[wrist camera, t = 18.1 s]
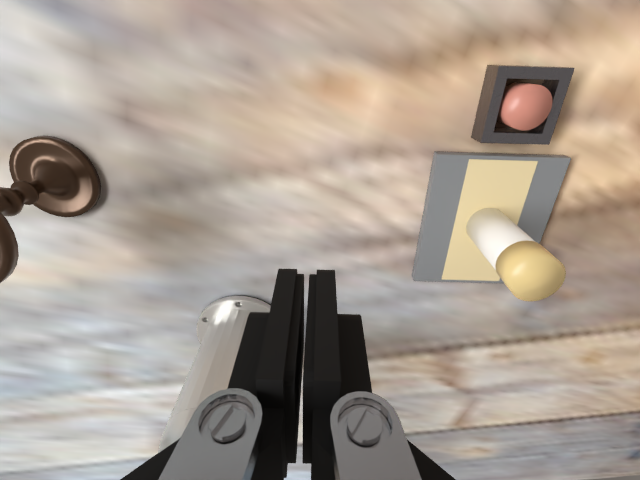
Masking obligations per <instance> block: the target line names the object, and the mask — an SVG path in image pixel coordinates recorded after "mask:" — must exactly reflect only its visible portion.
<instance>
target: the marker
mask: <svg viewBox="0 0 640 480" xmlns="http://www.w3.org/2000/svg"><path fill="white" fill-rule="evenodd" d="M466 232H467V234H468V236H469V237H470V239H471V240H472V241H473V242H474V244H475V245H476V246H477V247H478V249H479V250H480V251H481V252H482V254H483V255H484V256H485V257H486V259H487V260H488V261H489V263H490V264H491V265H492V266H493V268H494V269H495V270H496V272H497V274H498V276H499V277H500V278H501V279H502V281H503V282H504V283H505V284H506V286H507V287H508V288H509V290H510V291H511V292H512V293H513V295H514V296H515V297H517V298H518V299H520V300H524V301H537V300H541V299H544V298H546V297H548V296H550V295H552V294H553V293H555V292H556V291H557V290H558V289H559V288H560V287H561V285H562V284H563V282H564V279H565V275H566V272H565V268H564V266H563V264H562V263H561V262H560V261H559V260H557V259H556V258H555V257H554V256H553V255H552V254H551V253H549V252H548V251H547V250H546V249H545V248H544V247H543V246H541V245H540V244H539V243H537V242H535V241H534V240H533V239H532V238H531V237H530V236H528V235H527V234H526V233H525V232H524V231H523V230H522V229H520V228H519V227H518V226H517V225H516V224H515V223H514V222H513V221H511V220H510V219H509V218H508V217H507V216H506V215H505V214H504V213H502V212H501V211H500V210H498V209H496V208H484V209H481V210H479V211H477V212H475V213H474V214H473V215H472V216H471V217H470V219H469V220H468V222H467V226H466Z"/></svg>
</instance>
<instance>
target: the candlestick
mask: <svg viewBox="0 0 640 480" xmlns="http://www.w3.org/2000/svg"><path fill="white" fill-rule="evenodd" d="M9 166H10V173H11V176H12V179H13V181H14V183H13V184H12V185H11V188H2V187H0V283H1V282H2V281H4V280H5V279H6V278H7V277H8V276H10V275H11V274H12V272H13V271H14V269H15V267H16V265H17V261H18V244H17V241H16V238H15V235H14V232H13V230H12V228H11V226H10V224H9V223H8V221H7V219H6V218H5V217H4V216H15V215H17V214H18V213H20V212H21V210H22V208H23V206H24V204H26V205H31V204H33V205H34V206H36V207H38V208H39V209H41V210H43V211H45V212H47V213H50V214H53V215H56V216H61V217H74V216H78V215H81V214H83V213H85V212H87V211H88V210H90V209H91V208H92V207H93V206H94V205H95V204H96V203H97V201H98V199H99V196H100V192H101V185H100V179H99V176H98V173H97V171H96V169H95V167H94V166H93V164H92V162H91V161H90V160H89V159H88V157H87V156H86V155H85V154H84V153H83V152H81V151H80V150H79V149H78V148H76V147H75V146H74V145H72V144H70V143H68V142H66V141H64V140H62V139H59V138H56V137H50V136H37V137H33V138H30V139H27V140H24V141H22V142H20V143H19V144H17V146H16V147H15V148H14V149H13V151H12V153H11V155H10V161H9Z"/></svg>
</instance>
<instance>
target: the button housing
mask: <svg viewBox="0 0 640 480" xmlns="http://www.w3.org/2000/svg"><path fill="white" fill-rule="evenodd" d="M573 71H574V68H566V67H538V66H503V65H487V69H486V74H485V78H484V83H483V87H482V91H481V96H480V100H479V105H478V109H477V114H476V118H475V122H474V127H473V131H472V136H471V138H473V139H475V140H477V141H479V142H480V143H512V144H548V145H549V143H550V140H551V137H552V134H553V131H554V128H555V125H556V122H557V119H558V116H559V113H560V110H561V107H562V104H563V101H564V98H565V95H566V92H567V89H568V86H569V83H570V80H571V77H572V74H573ZM507 78H512V79H544V81H543V84H542V86H544V87H546V88H547V89H548V90H549V91H550V93H551V95H552V108H551V111H550V113H549V115H548V116H547V118H546V119H545V120H544V121H543V122H542V123H541V124H540V125H539V126H537V127H535V128H533V129H530V130H518V129H509V128H495V124H496V120H497V116H498V112H499V108H500V104H501V100H502V96H503V93H504V89H505V85H506V81H507Z"/></svg>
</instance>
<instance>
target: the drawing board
mask: <svg viewBox="0 0 640 480" xmlns="http://www.w3.org/2000/svg"><path fill="white" fill-rule="evenodd" d="M570 160H571V158H570V157H567V156H565V155H539V154H503V153H467V152H434V156H433V161H432V167H431V172H430V178H429V184H428V189H427V195H426V200H425V206H424V211H423V217H422V222H421V228H420V233H419V239H418V244H417V250H416V256H415V261H414V267H413V272H412V277H413V280H414V281H432V282H471V283H504V282H503V281H502V279H501V278H500V277H499V276H498V274H497V272H496V270H495V269H494V268H493V266H492V265H491V264H490V263H489V261H488V260H487V259H486V257H485V256H484V255H483V254H482V252H481V251H480V250H479V249H478V247H477V246H476V245H475V244H474V242H473V241H472V240H471V239H470V237H469V236H468V234H467V232H466V226H467V222H468V220H469V219H470V217H471V216H472V215H473V214H474V213H475V212H477V211H479V210H481V209H484V208H496V209H498V210H500V211H501V212H502V213H504V214H505V215H506V216H507V217H508V218H509V219H510V220H511V221H513V222H514V223H515V224H516V225H517V226H518V227H519V228H520V229H522V230H523V231H524V232H525V233H526V234H527V235H528V236H530V237H531V238H532V239H533V240H534V241H535V242H537V243H539V244H540V241H541V238H542V236H543V233H544V230H545V227H546V225H547V222H548V219H549V217H550V214H551V211H552V209H553V206H554V203H555V200H556V198H557V195H558V192H559V190H560V187H561V184H562V181H563V179H564V176H565V173H566V171H567V168H568V165H569V163H570Z"/></svg>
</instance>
